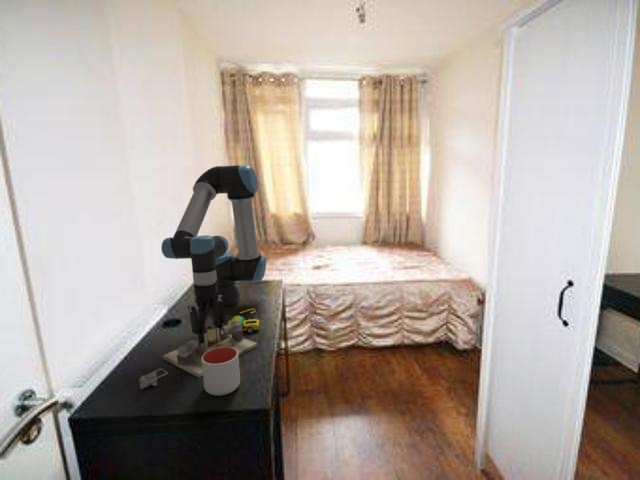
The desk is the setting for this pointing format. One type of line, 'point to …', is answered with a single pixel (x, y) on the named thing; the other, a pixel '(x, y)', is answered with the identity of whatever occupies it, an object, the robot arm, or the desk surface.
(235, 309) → the desk surface
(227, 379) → the cup
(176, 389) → the desk surface
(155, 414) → the desk surface
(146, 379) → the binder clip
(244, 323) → the toy car
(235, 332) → the shaft rig
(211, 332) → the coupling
